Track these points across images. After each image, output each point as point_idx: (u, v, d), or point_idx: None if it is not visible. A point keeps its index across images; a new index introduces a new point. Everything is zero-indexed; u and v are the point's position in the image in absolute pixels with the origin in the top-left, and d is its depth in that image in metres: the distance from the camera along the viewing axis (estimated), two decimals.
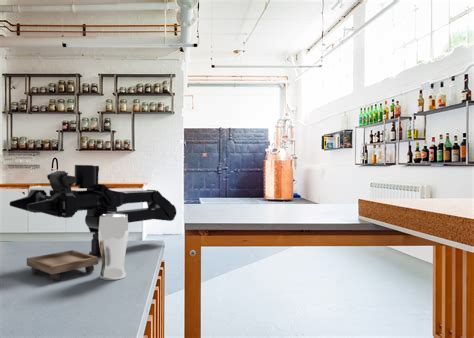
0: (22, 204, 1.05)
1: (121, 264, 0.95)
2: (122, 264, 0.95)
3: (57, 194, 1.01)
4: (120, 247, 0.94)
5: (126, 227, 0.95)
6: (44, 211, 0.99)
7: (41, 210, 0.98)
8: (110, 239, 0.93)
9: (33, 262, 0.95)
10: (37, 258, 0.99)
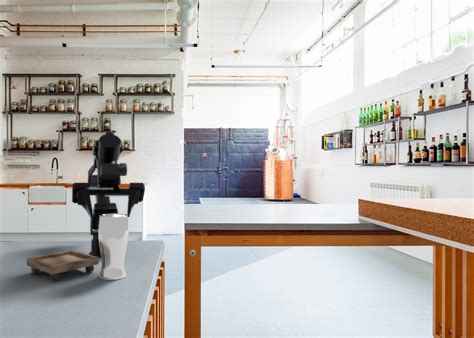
0: None
1: (121, 264, 0.95)
2: (122, 264, 0.95)
3: (134, 190, 1.08)
4: (120, 247, 0.94)
5: (126, 227, 0.95)
6: None
7: None
8: (110, 239, 0.93)
9: (33, 262, 0.95)
10: (37, 258, 0.99)
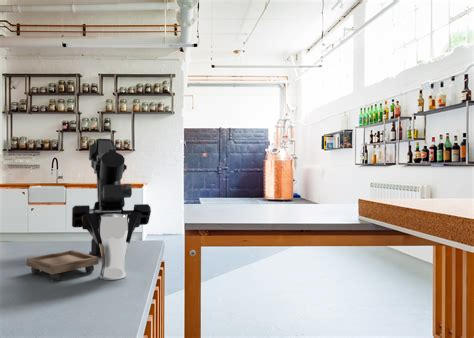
0: None
1: (121, 264, 0.95)
2: (122, 264, 0.95)
3: (135, 213, 0.99)
4: (120, 247, 0.94)
5: (126, 227, 0.95)
6: None
7: (131, 235, 0.99)
8: (110, 239, 0.93)
9: (33, 262, 0.95)
10: (37, 258, 0.99)
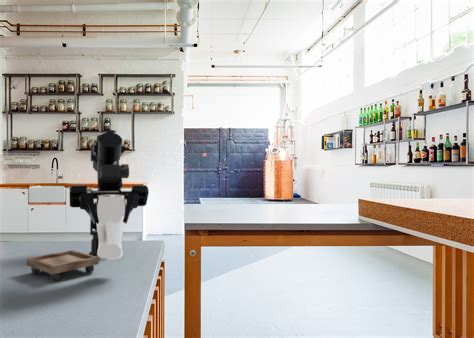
0: None
1: (118, 244, 0.95)
2: (119, 244, 0.95)
3: (132, 194, 0.99)
4: (117, 227, 0.94)
5: (123, 207, 0.95)
6: (129, 214, 1.00)
7: None
8: (107, 218, 0.93)
9: (33, 262, 0.95)
10: (37, 258, 0.99)
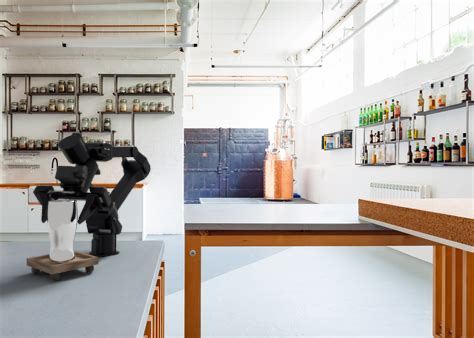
0: None
1: (65, 249, 0.97)
2: (66, 249, 0.97)
3: (91, 195, 0.99)
4: (61, 232, 0.96)
5: (69, 213, 0.96)
6: (90, 215, 1.00)
7: (88, 216, 0.99)
8: (51, 223, 0.95)
9: (33, 262, 0.95)
10: (37, 258, 0.99)
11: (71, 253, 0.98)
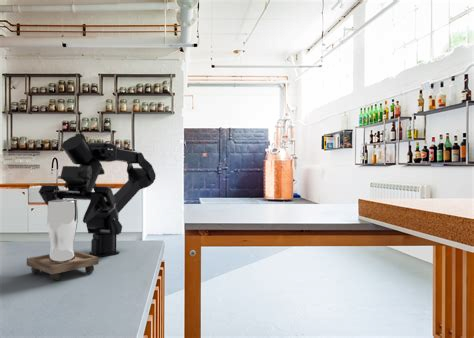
0: None
1: (65, 249, 0.97)
2: (66, 249, 0.97)
3: (95, 195, 1.02)
4: (61, 232, 0.96)
5: (69, 213, 0.96)
6: (94, 214, 1.03)
7: (92, 215, 1.02)
8: (51, 223, 0.95)
9: (33, 262, 0.95)
10: (37, 258, 0.99)
11: (71, 253, 0.98)
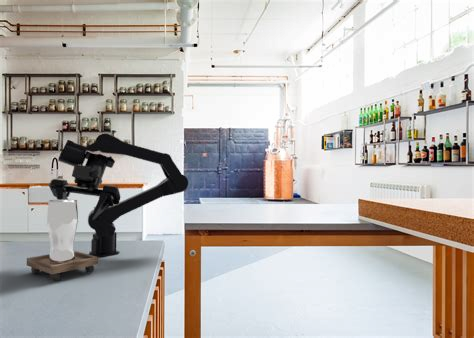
0: None
1: (65, 249, 0.97)
2: (66, 249, 0.97)
3: (104, 194, 1.09)
4: (61, 232, 0.96)
5: (69, 213, 0.96)
6: (101, 211, 1.10)
7: (100, 212, 1.10)
8: (51, 223, 0.95)
9: (33, 262, 0.95)
10: (37, 258, 0.99)
11: (71, 253, 0.98)
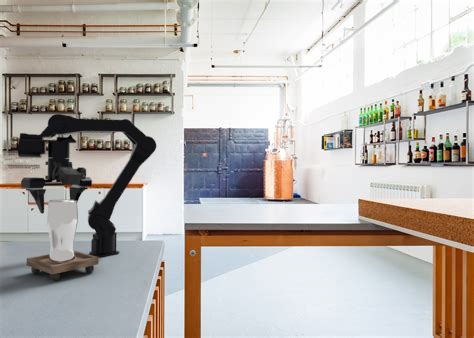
0: None
1: (65, 249, 0.97)
2: (66, 249, 0.97)
3: (83, 189, 1.18)
4: (61, 232, 0.96)
5: (69, 213, 0.96)
6: None
7: None
8: (51, 223, 0.95)
9: (33, 262, 0.95)
10: (37, 258, 0.99)
11: (71, 253, 0.98)
